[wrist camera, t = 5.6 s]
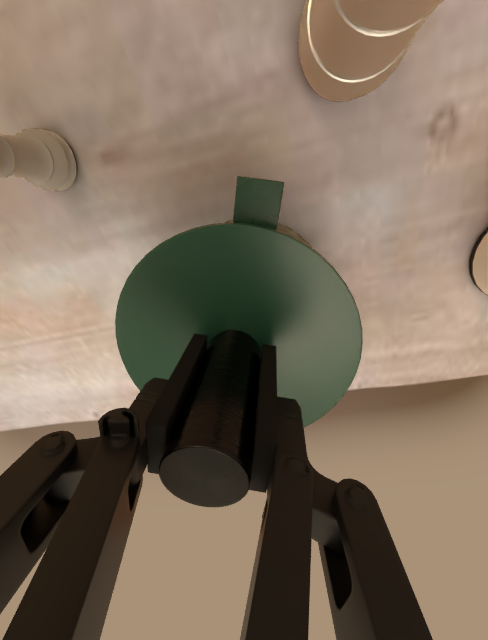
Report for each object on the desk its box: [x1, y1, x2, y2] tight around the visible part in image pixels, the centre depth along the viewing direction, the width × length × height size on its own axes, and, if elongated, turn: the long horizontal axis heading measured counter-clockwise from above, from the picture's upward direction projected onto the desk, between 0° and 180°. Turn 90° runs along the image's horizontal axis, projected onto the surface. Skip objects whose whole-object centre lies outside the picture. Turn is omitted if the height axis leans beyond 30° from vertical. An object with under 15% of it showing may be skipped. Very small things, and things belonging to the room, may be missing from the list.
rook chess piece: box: [0, 128, 76, 191], centre depth 19 cm, size 4×4×8 cm
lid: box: [115, 223, 362, 507], centre depth 13 cm, size 15×15×9 cm
